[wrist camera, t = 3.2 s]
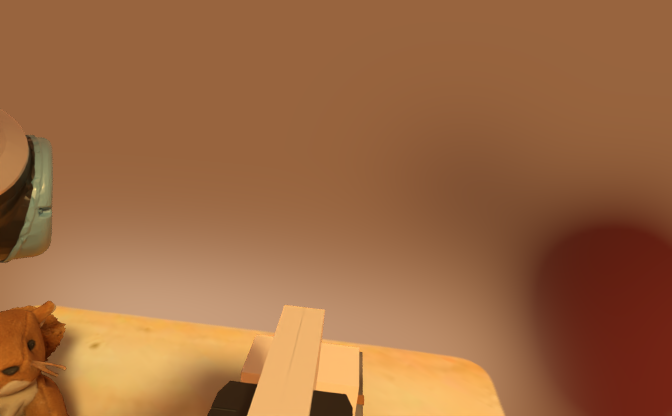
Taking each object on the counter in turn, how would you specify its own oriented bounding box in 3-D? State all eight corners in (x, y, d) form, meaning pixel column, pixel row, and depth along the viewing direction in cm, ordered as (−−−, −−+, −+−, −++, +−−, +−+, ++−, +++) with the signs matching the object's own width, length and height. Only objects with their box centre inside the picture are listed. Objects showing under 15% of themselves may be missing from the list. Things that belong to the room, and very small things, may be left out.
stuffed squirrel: (-89, 570, 25) (-143, 393, 21) (-65, 413, 35) (-98, 274, 31) (99, 485, 31) (85, 335, 27) (72, 372, 41) (59, 252, 37)
